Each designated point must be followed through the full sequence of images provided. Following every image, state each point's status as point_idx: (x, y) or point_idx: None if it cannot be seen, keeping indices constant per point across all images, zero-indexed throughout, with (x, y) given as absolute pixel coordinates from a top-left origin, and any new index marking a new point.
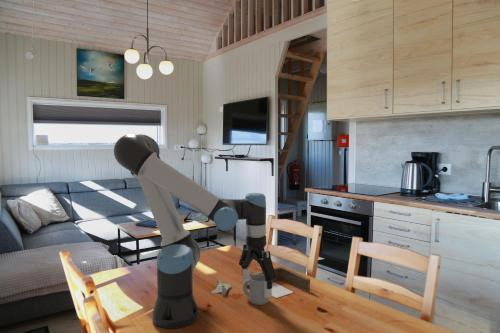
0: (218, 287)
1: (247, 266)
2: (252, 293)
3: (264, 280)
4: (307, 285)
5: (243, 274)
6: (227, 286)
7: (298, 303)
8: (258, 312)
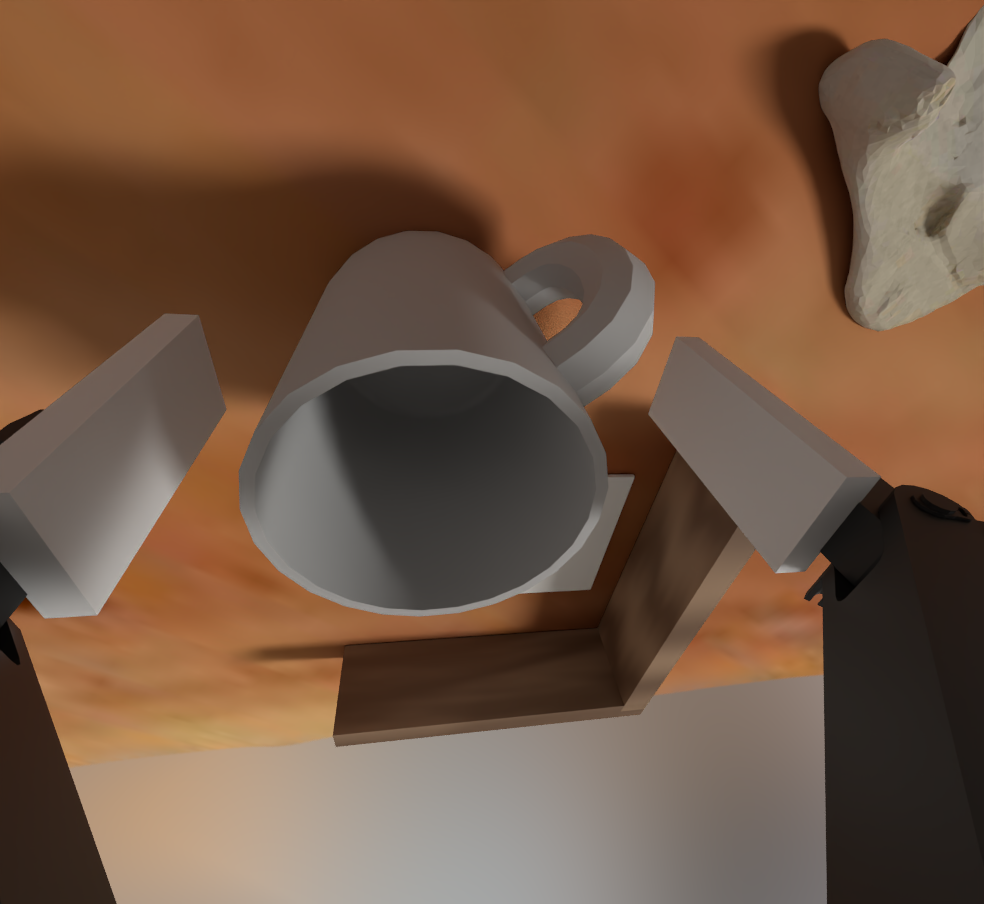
0: None
1: (834, 579)
2: (407, 260)
3: (13, 484)
4: (339, 691)
5: (787, 418)
6: (893, 261)
7: (207, 543)
8: (148, 112)
